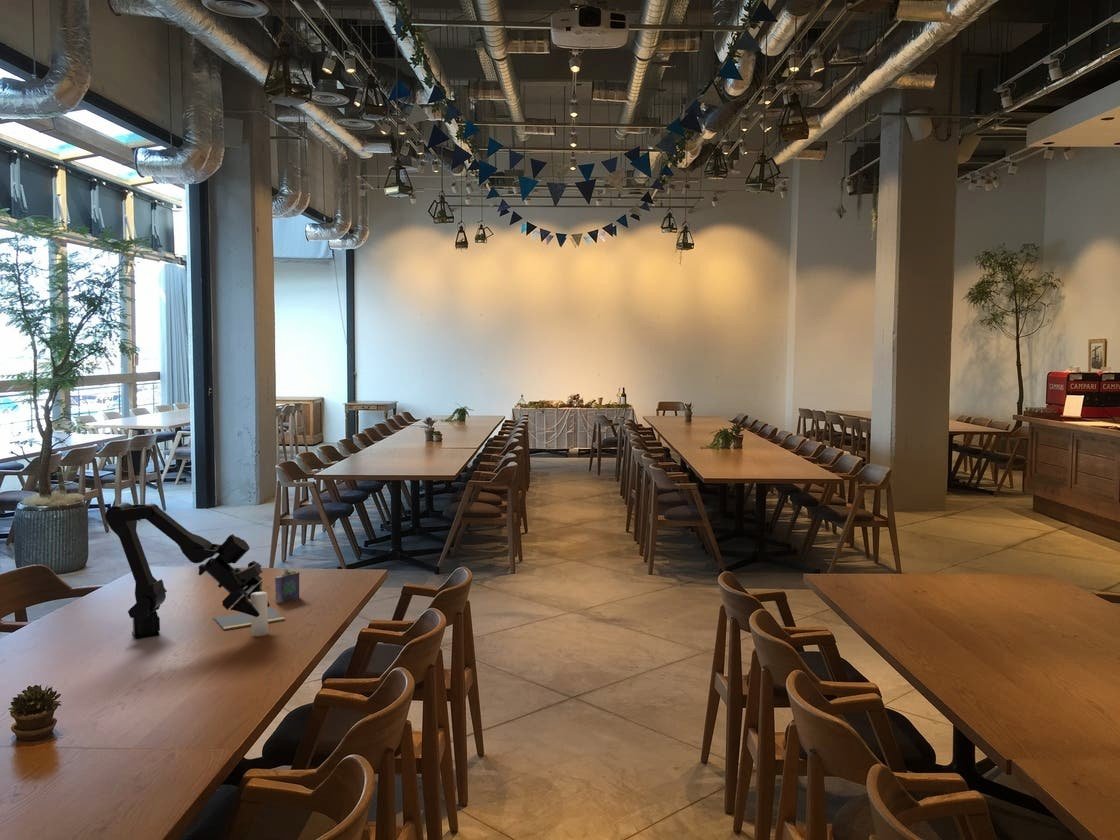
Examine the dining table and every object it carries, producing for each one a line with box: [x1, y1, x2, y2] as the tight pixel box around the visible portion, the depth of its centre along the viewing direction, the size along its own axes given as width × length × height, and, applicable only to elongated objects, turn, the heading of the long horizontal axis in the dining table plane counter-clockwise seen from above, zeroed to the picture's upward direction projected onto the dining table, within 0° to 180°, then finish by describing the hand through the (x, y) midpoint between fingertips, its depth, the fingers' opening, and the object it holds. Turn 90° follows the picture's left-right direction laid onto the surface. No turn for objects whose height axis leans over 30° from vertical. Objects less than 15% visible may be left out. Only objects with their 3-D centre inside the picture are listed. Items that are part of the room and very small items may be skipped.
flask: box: [274, 568, 300, 605], centre depth 289 cm, size 9×3×11 cm, turn 146°
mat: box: [213, 607, 286, 631], centre depth 269 cm, size 18×14×1 cm
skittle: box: [250, 591, 269, 637], centre depth 255 cm, size 5×5×12 cm
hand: (263, 611), depth 255 cm, fingers open, 9 cm apart
